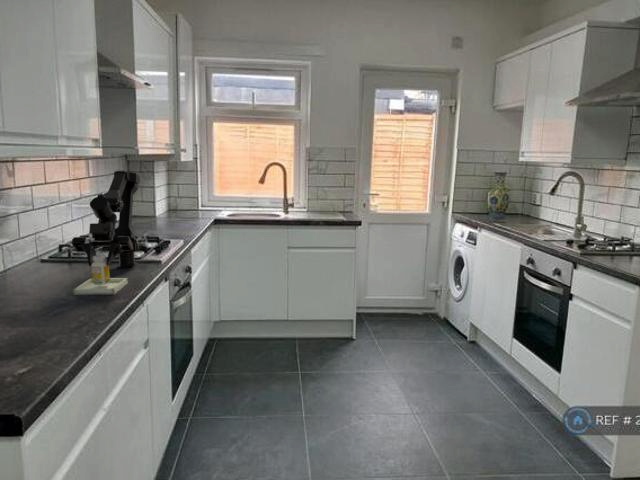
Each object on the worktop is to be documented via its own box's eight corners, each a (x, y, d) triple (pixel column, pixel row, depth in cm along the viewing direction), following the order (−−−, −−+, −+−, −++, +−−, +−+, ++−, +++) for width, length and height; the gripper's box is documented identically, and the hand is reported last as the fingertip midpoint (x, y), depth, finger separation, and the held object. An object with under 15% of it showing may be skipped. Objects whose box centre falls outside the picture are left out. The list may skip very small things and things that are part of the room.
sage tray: (91, 283, 171) (90, 278, 170) (128, 282, 171) (127, 278, 171) (74, 294, 158) (73, 289, 157) (114, 294, 158) (113, 289, 158)
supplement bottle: (95, 286, 161) (92, 258, 158) (91, 282, 165) (88, 255, 163) (112, 283, 164) (109, 256, 162) (108, 280, 168) (105, 253, 166)
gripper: (70, 213, 162) (60, 253, 154) (127, 213, 164) (120, 252, 156) (81, 232, 171) (72, 270, 163) (135, 231, 173) (129, 269, 165)
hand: (98, 265), depth 161 cm, fingers closed on supplement bottle, 5 cm apart
